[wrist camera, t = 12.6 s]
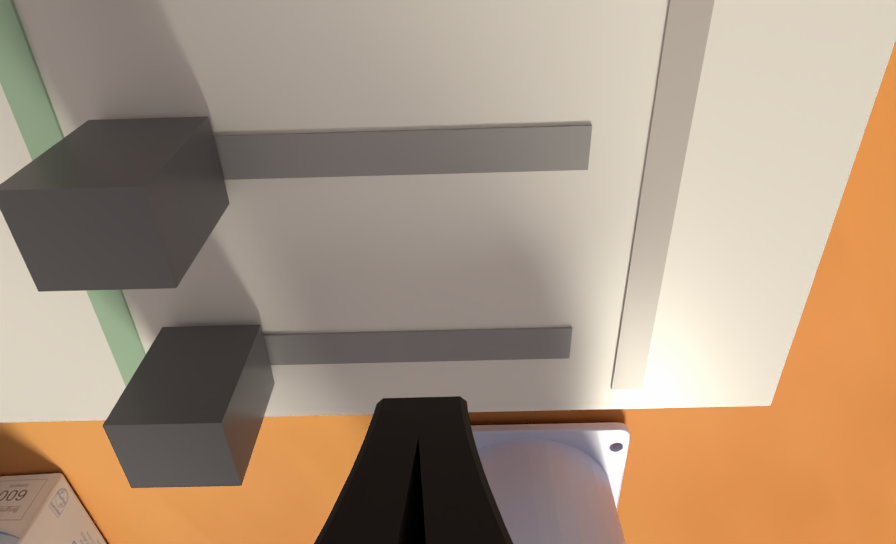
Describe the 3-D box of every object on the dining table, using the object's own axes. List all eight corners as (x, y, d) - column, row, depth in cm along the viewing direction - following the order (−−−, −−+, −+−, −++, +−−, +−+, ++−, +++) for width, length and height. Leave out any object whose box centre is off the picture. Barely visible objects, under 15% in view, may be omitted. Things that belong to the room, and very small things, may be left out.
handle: (274, 383, 21) (241, 485, 17) (182, 385, 21) (131, 487, 17) (260, 324, 19) (221, 422, 16) (162, 326, 19) (102, 425, 16)
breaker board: (747, 366, 23) (771, 407, 21) (-11, 383, 24) (-47, 425, 22) (960, -344, 13) (1042, -376, 11) (-395, -292, 13) (-525, -315, 12)
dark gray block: (229, 203, 17) (176, 288, 14) (118, 206, 17) (38, 291, 14) (208, 116, 16) (143, 186, 12) (88, 119, 16) (-9, 190, 12)
